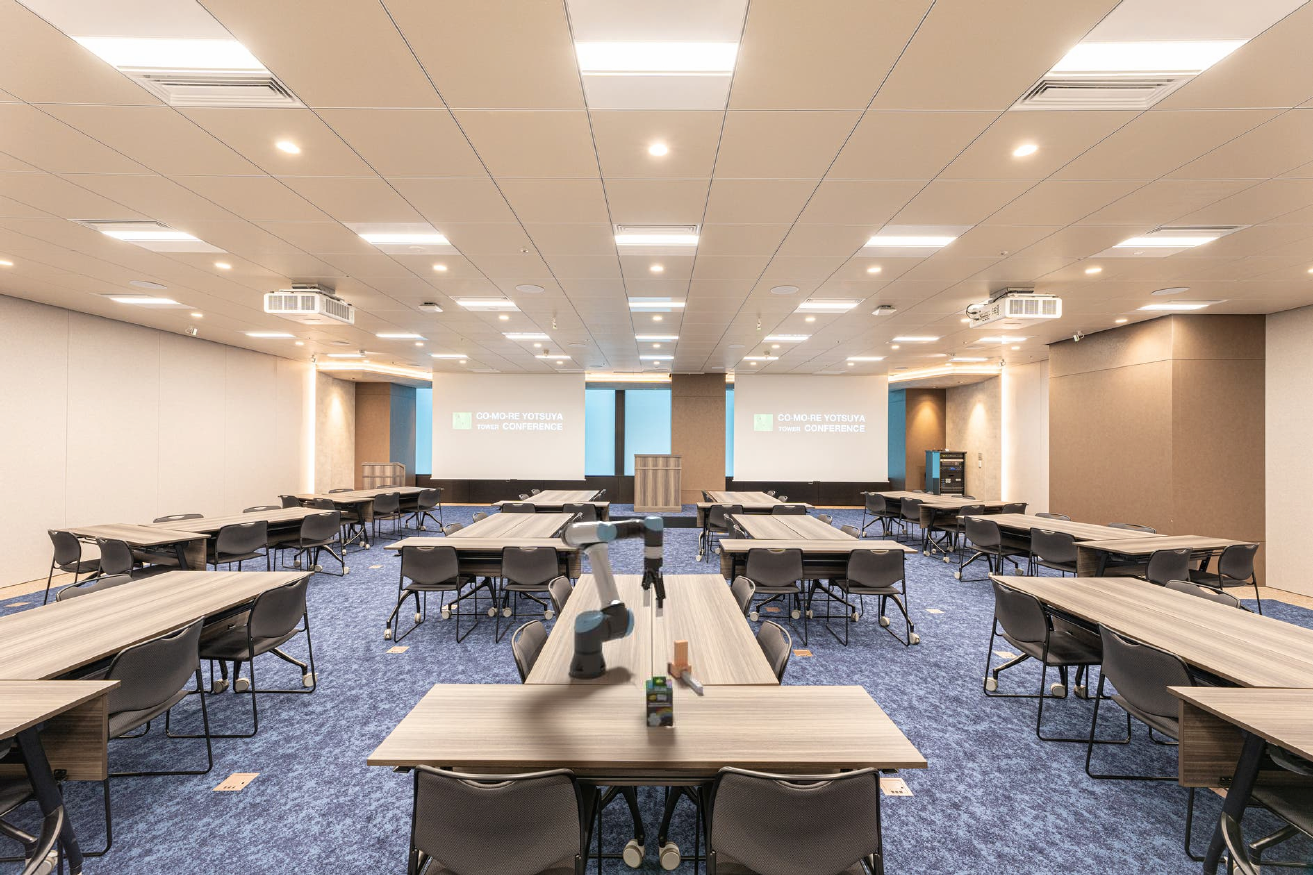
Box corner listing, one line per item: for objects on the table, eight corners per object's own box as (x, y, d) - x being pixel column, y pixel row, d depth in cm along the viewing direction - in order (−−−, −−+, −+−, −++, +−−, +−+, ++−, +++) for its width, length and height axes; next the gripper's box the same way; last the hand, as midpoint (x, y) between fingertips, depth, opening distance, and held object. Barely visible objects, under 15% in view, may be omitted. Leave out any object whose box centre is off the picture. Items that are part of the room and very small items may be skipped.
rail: (661, 673, 203) (661, 661, 204) (687, 668, 208) (688, 657, 208) (687, 700, 180) (687, 688, 180) (716, 695, 185) (716, 683, 185)
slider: (670, 672, 202) (670, 639, 202) (685, 669, 204) (685, 637, 205) (676, 678, 196) (676, 644, 197) (691, 675, 199) (691, 642, 199)
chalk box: (671, 712, 172) (672, 669, 173) (673, 726, 163) (673, 681, 163) (645, 712, 172) (645, 669, 172) (645, 726, 162) (646, 681, 163)
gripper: (633, 551, 204) (633, 603, 203) (656, 563, 181) (655, 622, 180) (650, 550, 207) (650, 601, 206) (675, 562, 184) (674, 619, 183)
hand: (652, 611), depth 193 cm, fingers open, 13 cm apart
